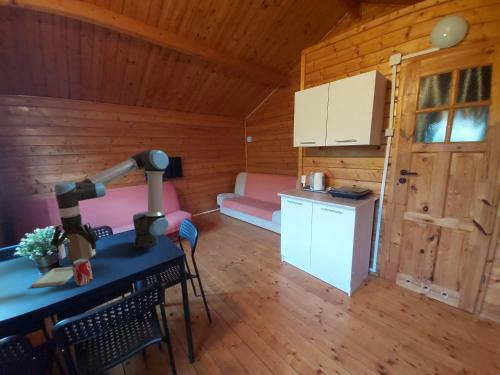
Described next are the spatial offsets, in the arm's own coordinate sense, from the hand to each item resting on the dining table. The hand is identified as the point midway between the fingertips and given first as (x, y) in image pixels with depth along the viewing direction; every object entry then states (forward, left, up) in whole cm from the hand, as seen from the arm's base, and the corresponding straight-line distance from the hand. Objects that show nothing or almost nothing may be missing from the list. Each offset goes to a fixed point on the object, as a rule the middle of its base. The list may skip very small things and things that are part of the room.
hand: (78, 256), depth 106 cm
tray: (+17, -7, -15) cm, 23 cm away
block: (+16, -27, -15) cm, 35 cm away
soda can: (0, 0, -15) cm, 15 cm away
